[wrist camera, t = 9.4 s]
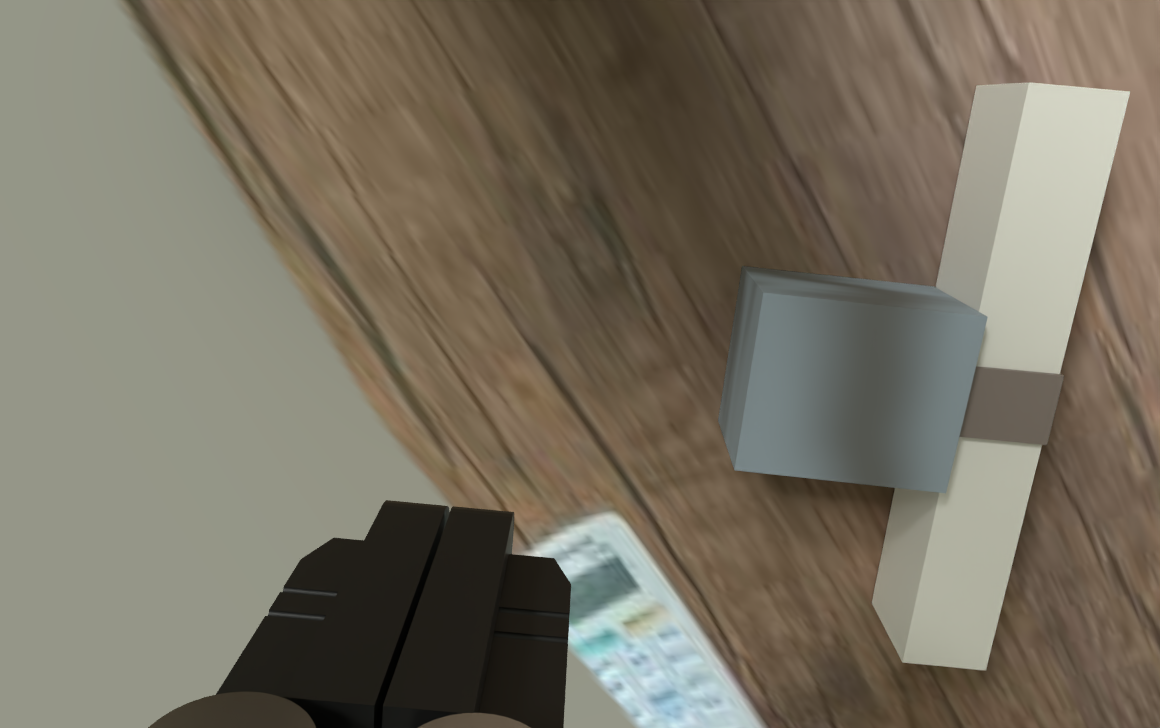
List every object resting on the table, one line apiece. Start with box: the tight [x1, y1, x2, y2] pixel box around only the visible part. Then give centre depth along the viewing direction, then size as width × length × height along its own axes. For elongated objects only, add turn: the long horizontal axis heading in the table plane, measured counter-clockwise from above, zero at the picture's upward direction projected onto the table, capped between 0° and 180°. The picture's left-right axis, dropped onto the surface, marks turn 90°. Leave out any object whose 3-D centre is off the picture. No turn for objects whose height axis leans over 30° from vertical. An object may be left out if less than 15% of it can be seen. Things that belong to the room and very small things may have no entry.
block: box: [718, 266, 988, 493], centre depth 31 cm, size 7×6×5 cm
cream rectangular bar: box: [872, 83, 1130, 671], centre depth 31 cm, size 3×20×4 cm, turn 175°
